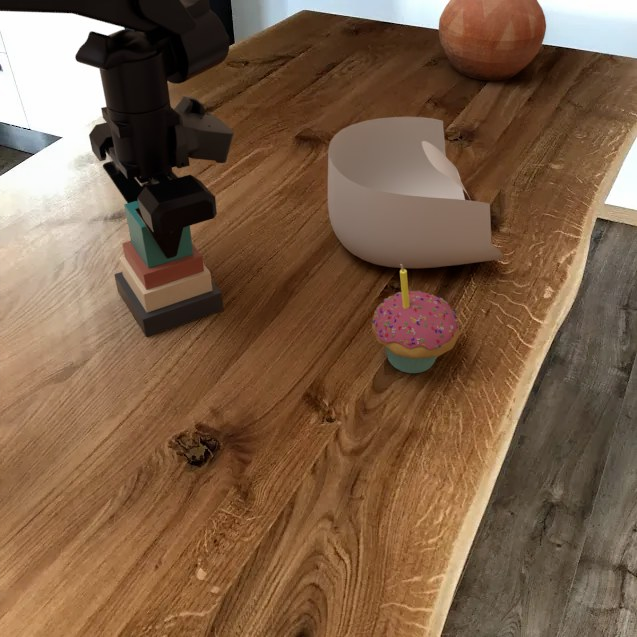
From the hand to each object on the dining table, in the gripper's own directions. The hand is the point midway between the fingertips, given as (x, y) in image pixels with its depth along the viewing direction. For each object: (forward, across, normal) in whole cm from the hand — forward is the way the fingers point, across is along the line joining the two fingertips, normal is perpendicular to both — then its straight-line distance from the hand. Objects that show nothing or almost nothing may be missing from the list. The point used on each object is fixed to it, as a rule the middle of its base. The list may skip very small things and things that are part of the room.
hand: (160, 242), depth 77 cm
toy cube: (+1, 0, 0) cm, 1 cm away
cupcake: (+8, -21, -18) cm, 29 cm away
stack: (+8, 0, 0) cm, 8 cm away
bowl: (+8, -3, -30) cm, 31 cm away
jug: (+8, +34, -75) cm, 83 cm away
